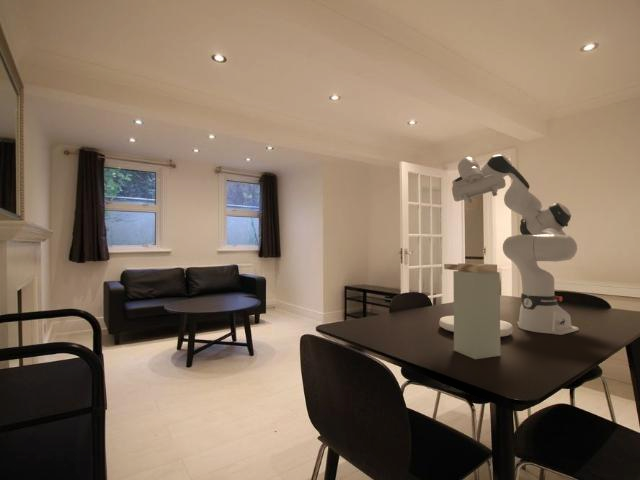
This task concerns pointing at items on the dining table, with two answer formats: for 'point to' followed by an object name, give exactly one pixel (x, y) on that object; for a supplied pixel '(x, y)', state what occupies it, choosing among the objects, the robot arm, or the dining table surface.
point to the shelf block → (477, 314)
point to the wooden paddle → (472, 267)
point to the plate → (448, 324)
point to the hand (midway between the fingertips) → (482, 198)
